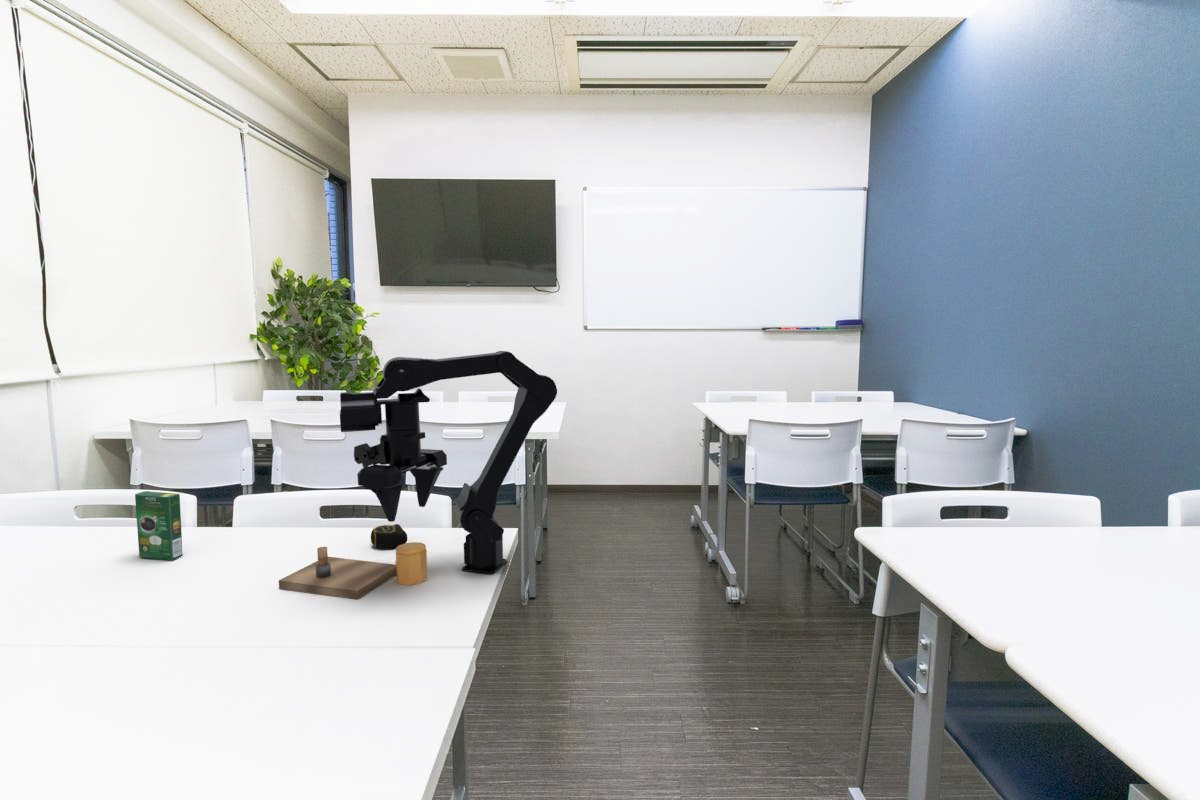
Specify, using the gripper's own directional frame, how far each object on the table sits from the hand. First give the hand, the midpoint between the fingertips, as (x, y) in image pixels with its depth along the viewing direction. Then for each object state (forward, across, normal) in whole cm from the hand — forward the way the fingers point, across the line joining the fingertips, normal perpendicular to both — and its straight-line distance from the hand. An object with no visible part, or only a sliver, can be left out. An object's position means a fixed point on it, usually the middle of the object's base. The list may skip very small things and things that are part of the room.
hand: (407, 513), depth 112 cm
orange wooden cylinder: (+12, +1, +1) cm, 12 cm away
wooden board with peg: (+12, +5, -11) cm, 17 cm away
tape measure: (+12, -14, -14) cm, 24 cm away
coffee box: (+12, +6, -53) cm, 55 cm away
